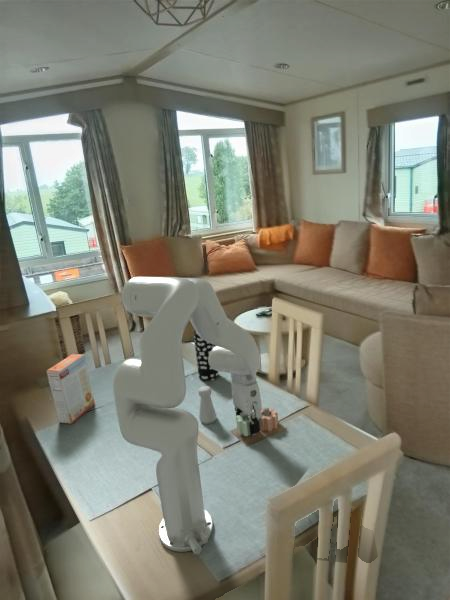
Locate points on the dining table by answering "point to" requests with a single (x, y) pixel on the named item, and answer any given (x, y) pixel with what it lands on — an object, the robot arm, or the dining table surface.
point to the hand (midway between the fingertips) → (248, 426)
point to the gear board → (258, 436)
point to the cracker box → (71, 388)
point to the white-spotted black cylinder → (204, 359)
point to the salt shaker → (206, 406)
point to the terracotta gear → (269, 420)
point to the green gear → (243, 424)
